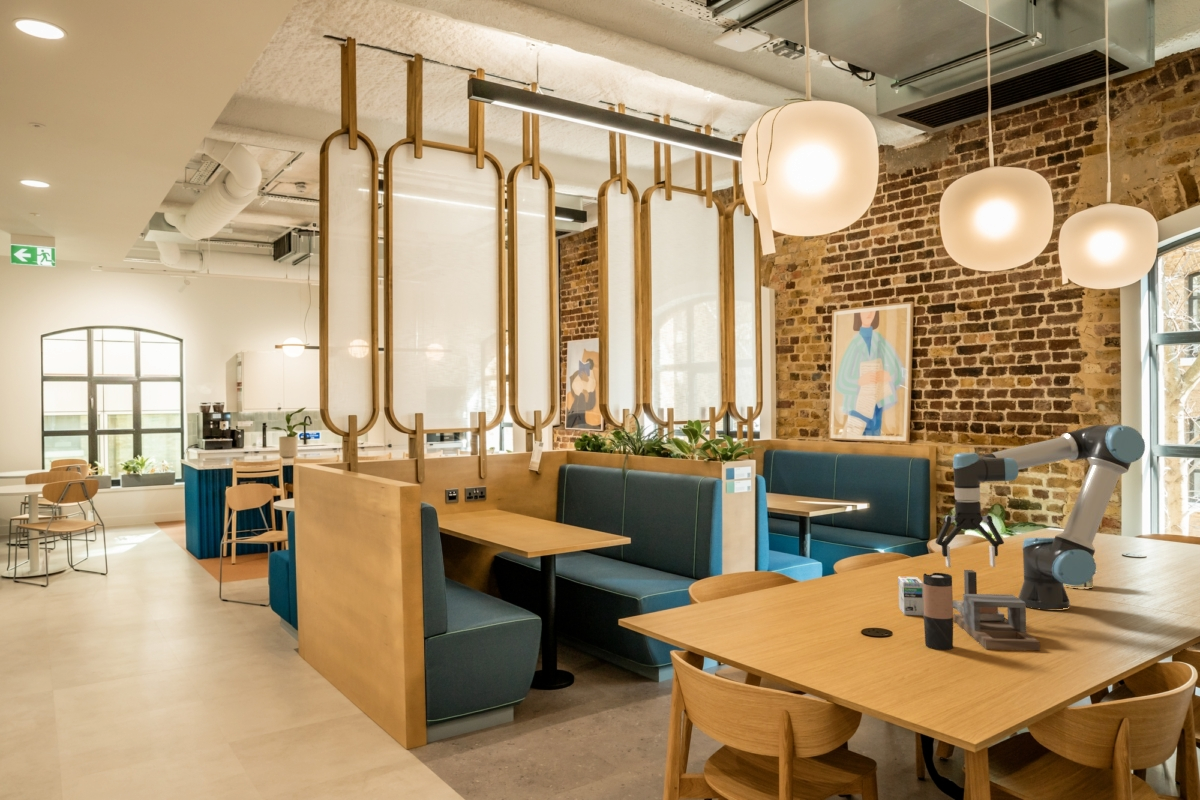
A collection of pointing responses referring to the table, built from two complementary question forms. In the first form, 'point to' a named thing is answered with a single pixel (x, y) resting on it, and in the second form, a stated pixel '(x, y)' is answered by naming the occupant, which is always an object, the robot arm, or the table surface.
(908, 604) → the light bulb box
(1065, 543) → the robot arm
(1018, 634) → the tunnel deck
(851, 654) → the table surface
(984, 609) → the block
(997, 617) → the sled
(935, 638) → the travel mug
